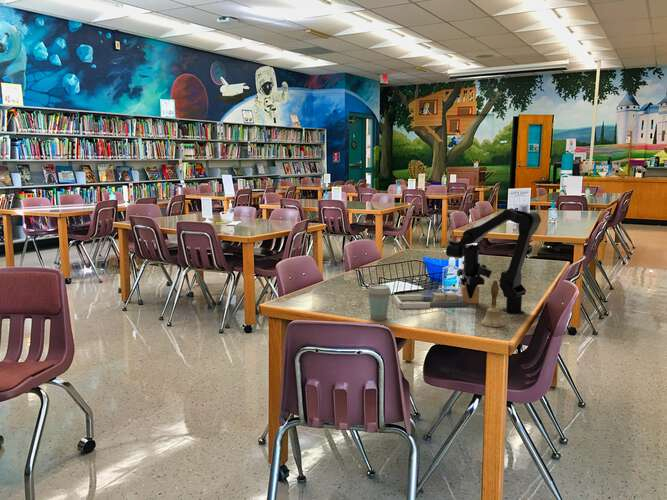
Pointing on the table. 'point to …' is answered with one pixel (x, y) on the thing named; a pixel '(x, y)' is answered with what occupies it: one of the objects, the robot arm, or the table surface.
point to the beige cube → (450, 297)
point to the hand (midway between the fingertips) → (469, 297)
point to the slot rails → (444, 302)
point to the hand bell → (493, 310)
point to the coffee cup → (378, 301)
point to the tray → (409, 305)
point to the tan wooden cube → (438, 297)
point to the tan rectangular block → (464, 295)
